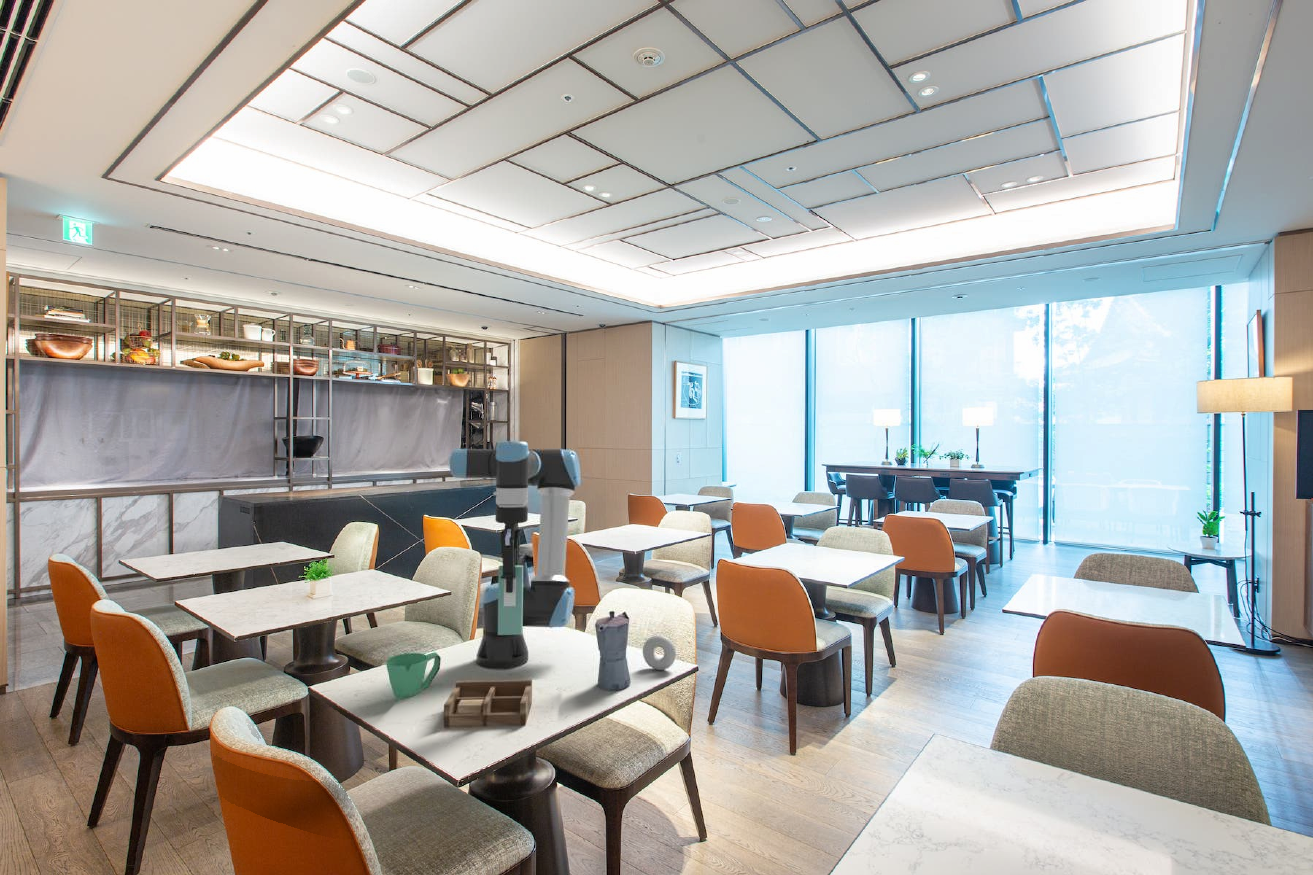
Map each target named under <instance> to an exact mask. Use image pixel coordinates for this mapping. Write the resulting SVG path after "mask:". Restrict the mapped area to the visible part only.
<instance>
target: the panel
mask: <svg viewBox="0 0 1313 875" xmlns="http://www.w3.org/2000/svg"><path fill="white" fill-rule="evenodd" d="M502 574H503V565H499V566H498V580H497V583H498V635H521V634H522V631H524V629H523V628H524V627H523V584H524V565H522V564H521V565H520V564H519V565H515V578H516V606H504V579H501V576H502Z"/></svg>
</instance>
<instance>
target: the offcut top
mask: <svg viewBox="0 0 1313 875" xmlns="http://www.w3.org/2000/svg"><path fill="white" fill-rule="evenodd" d="M483 702H484V700H461V701H460V702H459V704H458V714H464V713H482V711H483Z"/></svg>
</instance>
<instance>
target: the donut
mask: <svg viewBox="0 0 1313 875" xmlns="http://www.w3.org/2000/svg"><path fill="white" fill-rule="evenodd" d="M656 648H661V649H662V650H663V653H664V654H663V657H658V656H656V654H655V650H656ZM642 657H643V659H644V662H645V663H646V664H647V665H648V666H649V667H650V668H652V669H653V670H656V671H665V670H667V669H670V667H672V665H674V662H675V660H676V657H677V651H676V647H675V644H674V643H673V642H672V640H671V639H670V638H669V637H667V636H665V635H661V634H655V635H652V636H650V637H649V638H648V639H646V640H645V642H644V644H643V647H642Z"/></svg>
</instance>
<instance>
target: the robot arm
mask: <svg viewBox="0 0 1313 875" xmlns="http://www.w3.org/2000/svg"><path fill="white" fill-rule="evenodd" d="M579 460H580V459H579V457H578V454H577V452H576V451H575V450H572V449H563V448H558V449H557V448H555V449H553V448H552V449H549V448H548V449H547V448H546V449H545V448H543V449H533V448H532V449H531V448H530V449H529V443H528V442H527V441H523V440H521V441H520V440H518V441H515V440H510V441H509V440H507V441H506V440H504V441H503V440H501V441H499V442H497V445H496V448H495V449H494V448H493V449H486V448H459V449H458V448H457V449H454V450H453V451H452V452H451V454H450V458H449V472H450V475H451V476H452V477H454V478H456V479H466V480H467V479H489V480H490V479H491V480H492V479H493V480H495V490H496V491H493V496H495V504H496V505H497V506H496V507H495V522H496V523H499V524H504V529H503V530H501V545H502V566H503V574H502V576H501V579H504V606H516V578H515V565H520V545H521V543H520V542H521V534H522V532H521V531H522V530H521V529H519V524H522V523H527V521H528V518H529V517H528V516H529V515H528V512H529V510H528V507H527V504H528V503H529V487H537V488H536V489H537V490H536V491H537V493H538V494H539V496H541V502H540V517H539V527H538V528H539V531H538V544H537V561H536V573H535V576H533V577H532V579H530V586H524V585H525V584H524V583H523V628H524V627H528V628H530V627H531V628H549V629H552V628H563V627H565V626H567V625H568V624H569V621H570V619H571V616H572V614H573V609H574V604H575V588H574V587H572V586H570V580H569V579H568V578H567V577H566V564H567V545H568V528H569V527H568V526H569V511H570V498H571V497H572V496H573V495H574V494H575V490H576V488H578V487H580V486H581V480H582V478H581V476H582V475H581V468H580V461H579ZM482 606H483V607H482V608H483V609H482V638H481V641H480V644H479V648H478V651H477V653H476V665H477V666H479V667H481V668H485V669H491V670H492V669H494V670H495V669H496V670H502V669H504V670H505V669H510V668H515V667H518V666H523V665H525V664H526V663H528V661H529V649H528V646H527V643H526V640H525V636H524V632H523V631H524V630H523V631H522V634H521V635H498V582H497V583H496V582H495V583H492V584H490V585H488V586H486V588H485V589H484V590H483V601H482Z"/></svg>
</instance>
